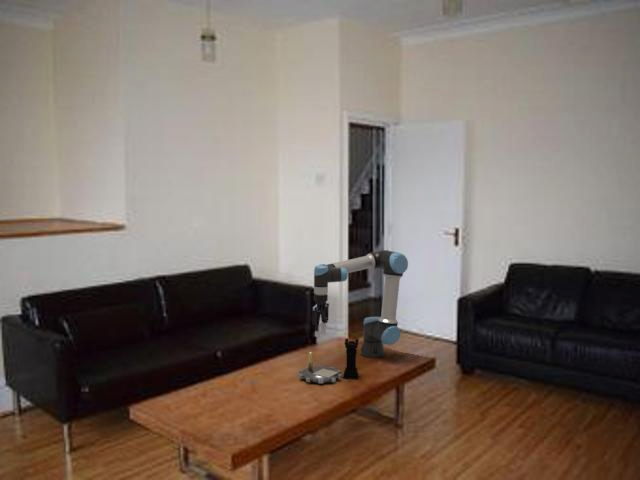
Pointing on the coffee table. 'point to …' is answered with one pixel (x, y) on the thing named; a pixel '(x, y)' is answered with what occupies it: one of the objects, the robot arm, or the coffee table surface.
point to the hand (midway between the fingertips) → (320, 335)
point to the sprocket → (319, 372)
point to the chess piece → (351, 360)
